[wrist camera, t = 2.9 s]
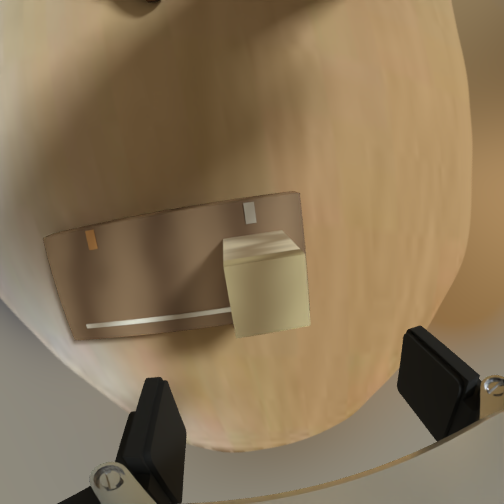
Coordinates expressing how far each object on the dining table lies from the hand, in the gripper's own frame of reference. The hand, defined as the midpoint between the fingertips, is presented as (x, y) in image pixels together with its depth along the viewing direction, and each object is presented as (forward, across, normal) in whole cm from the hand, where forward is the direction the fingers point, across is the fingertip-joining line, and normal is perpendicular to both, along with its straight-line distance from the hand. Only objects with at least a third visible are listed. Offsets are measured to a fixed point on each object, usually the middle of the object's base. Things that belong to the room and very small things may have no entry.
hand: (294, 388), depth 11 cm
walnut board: (+16, +7, -1) cm, 18 cm away
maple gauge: (+14, 0, -1) cm, 15 cm away
